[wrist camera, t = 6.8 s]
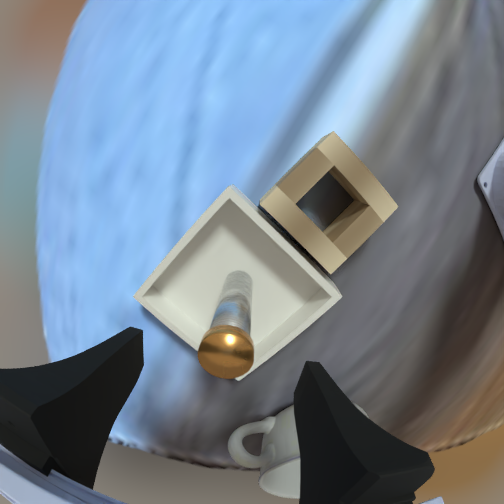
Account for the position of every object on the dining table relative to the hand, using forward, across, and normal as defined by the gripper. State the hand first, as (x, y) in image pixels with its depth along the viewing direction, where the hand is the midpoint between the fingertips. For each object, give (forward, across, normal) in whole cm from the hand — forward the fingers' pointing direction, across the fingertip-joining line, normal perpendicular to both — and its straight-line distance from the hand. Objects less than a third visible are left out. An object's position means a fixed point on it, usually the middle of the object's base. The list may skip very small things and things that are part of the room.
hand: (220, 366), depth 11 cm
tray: (+9, 0, 0) cm, 9 cm away
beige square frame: (+9, -5, -7) cm, 13 cm away
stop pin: (+9, 0, 0) cm, 9 cm away
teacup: (+10, -8, +13) cm, 18 cm away
